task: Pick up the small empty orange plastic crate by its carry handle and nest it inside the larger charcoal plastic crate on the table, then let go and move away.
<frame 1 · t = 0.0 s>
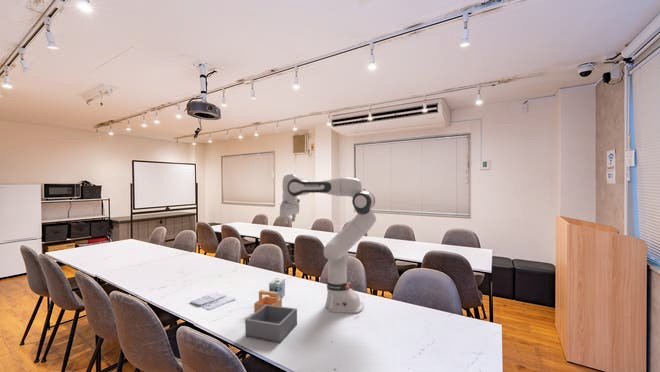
hand: (289, 222, 173), 48 cm above the table, tool pointing down, fingers open, 8 cm apart
light bulb box: (277, 298, 176), on the table
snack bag: (213, 302, 171), on the table
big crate: (272, 330, 135), on the table
small crate: (268, 311, 156), on the table
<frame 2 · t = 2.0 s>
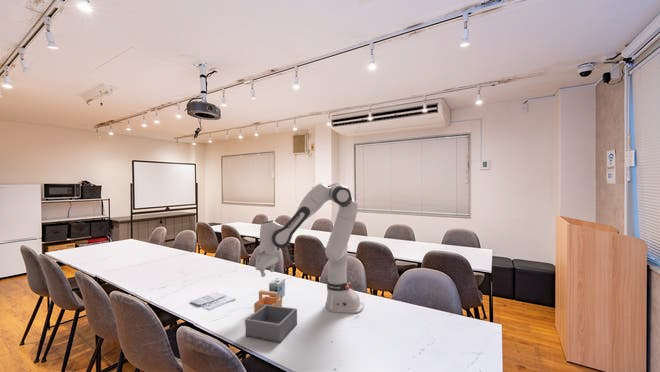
hand: (267, 273, 157), 21 cm above the table, tool pointing down, fingers open, 8 cm apart
nothing on the table moved.
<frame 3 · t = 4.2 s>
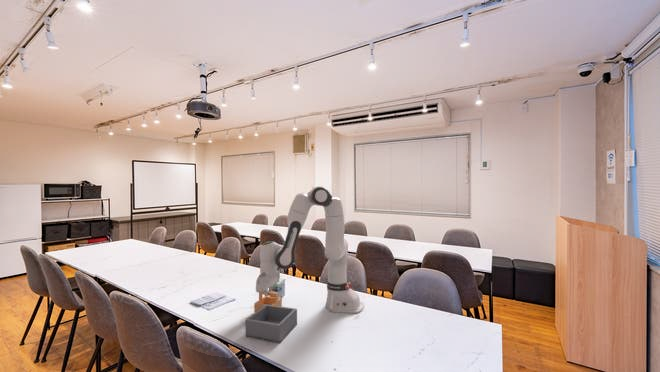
hand: (268, 294, 156), 9 cm above the table, tool pointing down, fingers closed on small crate
small crate: (268, 311, 156), on the table, touching gripper
everything else where it was.
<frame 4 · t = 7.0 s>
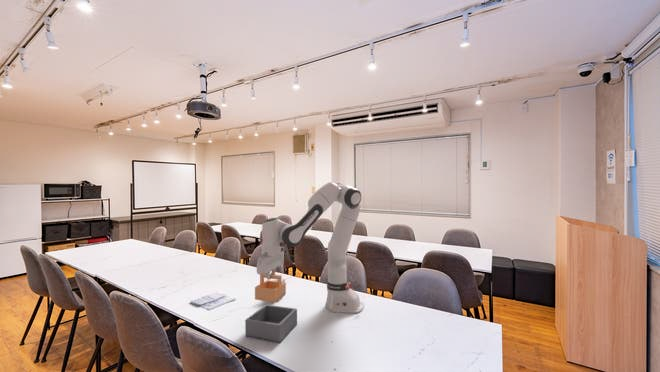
hand: (270, 278, 139), 24 cm above the table, tool pointing down, fingers closed on small crate
small crate: (270, 296, 139), point 15 cm above the table, touching gripper
everything else where it was.
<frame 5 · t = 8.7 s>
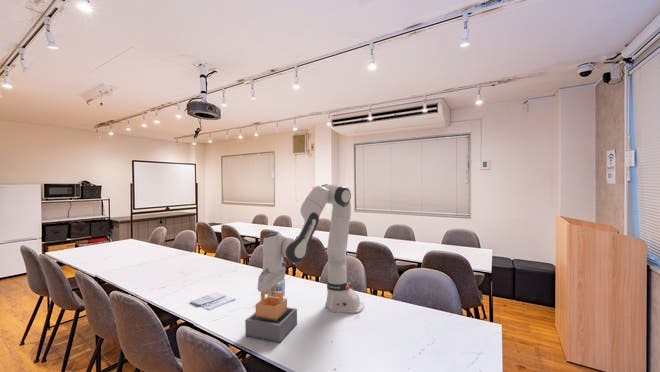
hand: (271, 294, 135), 17 cm above the table, tool pointing down, fingers closed on small crate
small crate: (271, 313, 135), point 8 cm above the table, touching gripper
everything else where it was.
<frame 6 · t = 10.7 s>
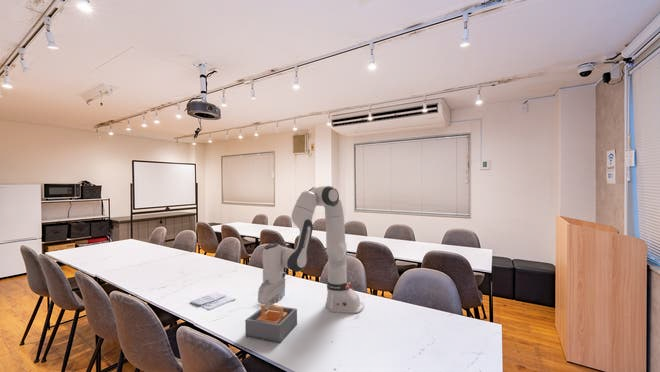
hand: (272, 305, 135), 12 cm above the table, tool pointing down, fingers open, 7 cm apart
small crate: (272, 328, 135), point 1 cm above the table, touching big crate
everything else where it was.
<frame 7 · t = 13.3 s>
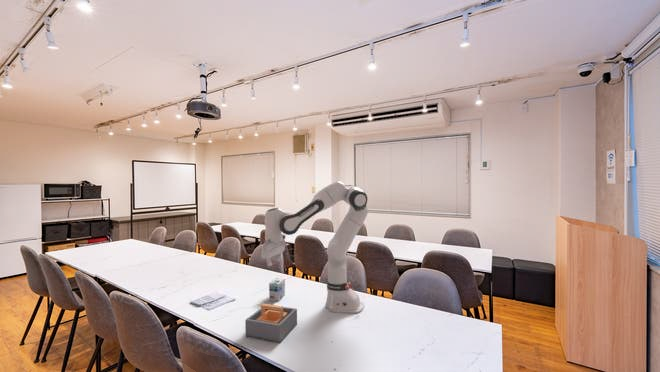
hand: (274, 263, 151), 29 cm above the table, tool pointing down, fingers open, 8 cm apart
nothing on the table moved.
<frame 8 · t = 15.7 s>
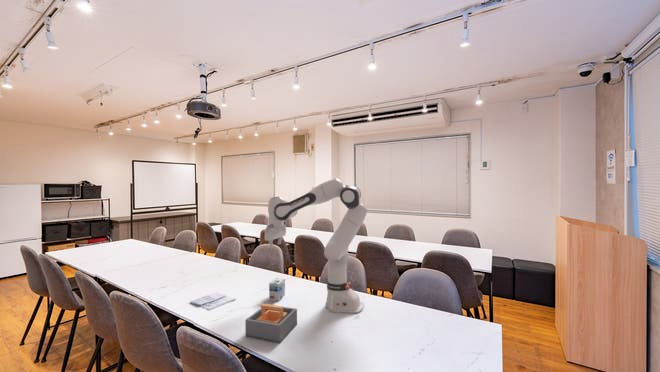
hand: (275, 245, 171), 34 cm above the table, tool pointing down, fingers open, 8 cm apart
nothing on the table moved.
at the end: small crate 0.1 cm off-centre on the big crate, point 1.0 cm above the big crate's base; small crate tilted 0°; the gripper is holding nothing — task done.
